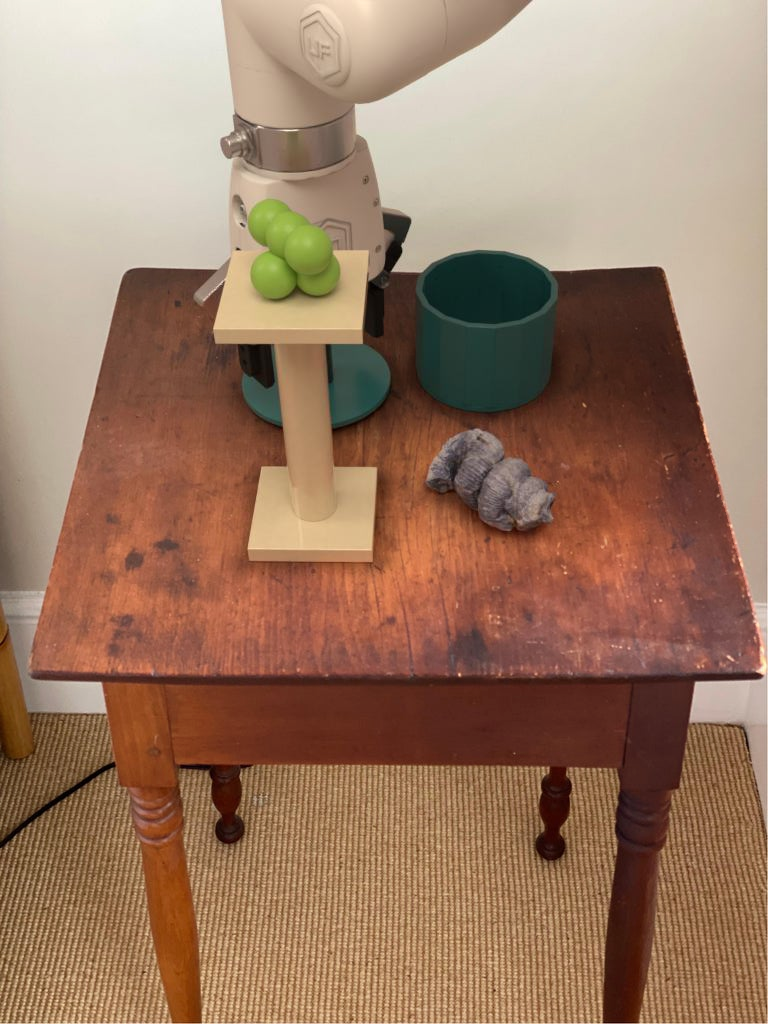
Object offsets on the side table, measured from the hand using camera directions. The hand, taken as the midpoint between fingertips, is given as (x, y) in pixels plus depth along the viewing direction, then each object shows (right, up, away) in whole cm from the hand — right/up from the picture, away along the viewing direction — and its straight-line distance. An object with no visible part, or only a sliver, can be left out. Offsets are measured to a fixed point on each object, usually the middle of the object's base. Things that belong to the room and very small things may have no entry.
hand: (315, 353), depth 83 cm
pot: (+13, -1, +4) cm, 13 cm away
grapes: (0, +1, -20) cm, 20 cm away
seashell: (+12, -12, -7) cm, 18 cm away
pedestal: (+1, -12, -8) cm, 14 cm away
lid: (0, -2, +2) cm, 3 cm away
